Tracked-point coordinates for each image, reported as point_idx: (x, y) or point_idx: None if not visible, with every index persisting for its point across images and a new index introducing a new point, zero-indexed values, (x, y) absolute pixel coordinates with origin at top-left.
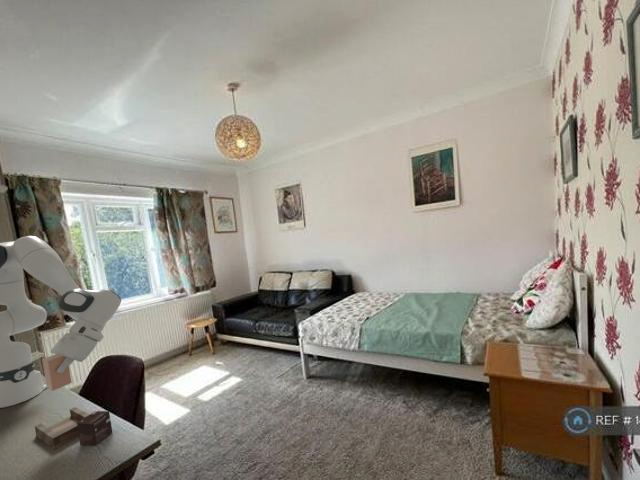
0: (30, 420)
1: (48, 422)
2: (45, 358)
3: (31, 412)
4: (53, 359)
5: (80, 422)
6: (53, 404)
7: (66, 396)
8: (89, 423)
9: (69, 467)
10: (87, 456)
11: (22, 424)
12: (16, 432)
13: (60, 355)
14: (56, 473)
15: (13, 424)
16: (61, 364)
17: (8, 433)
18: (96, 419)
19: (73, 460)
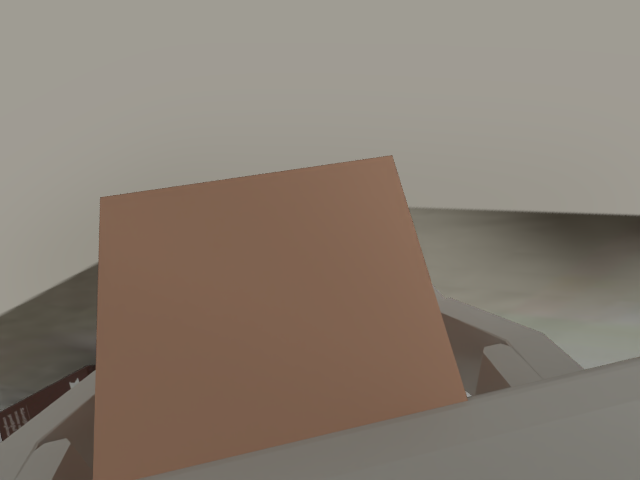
0: (522, 267)
1: None
2: (354, 192)
3: (596, 274)
4: (108, 284)
5: (69, 377)
6: (607, 339)
7: None
8: (13, 405)
9: (45, 316)
10: (41, 364)
11: (511, 247)
12: (462, 231)
13: (202, 429)
14: (58, 287)
15: (539, 228)
16: (93, 382)
17: (478, 215)
18: (6, 437)
19: (71, 330)
